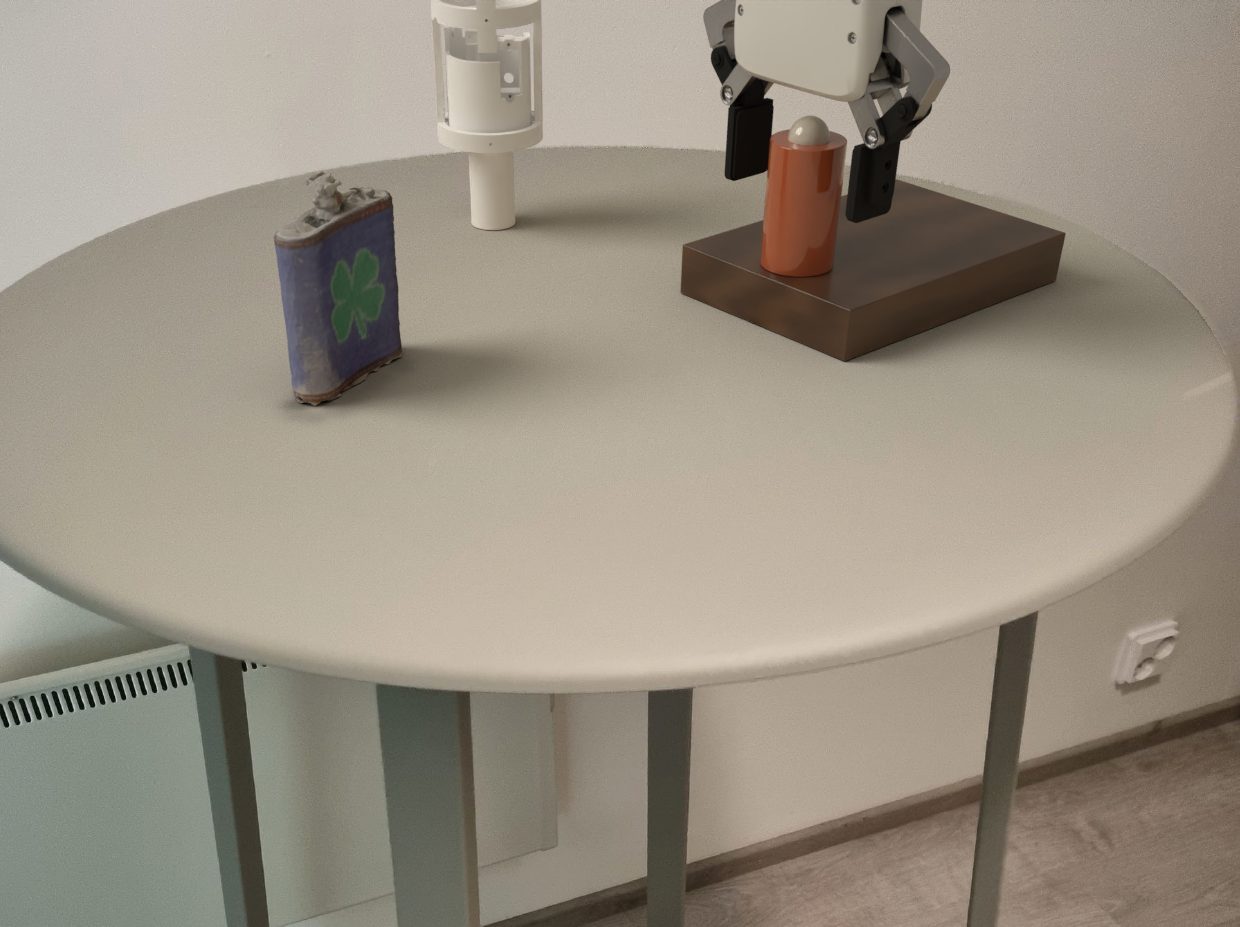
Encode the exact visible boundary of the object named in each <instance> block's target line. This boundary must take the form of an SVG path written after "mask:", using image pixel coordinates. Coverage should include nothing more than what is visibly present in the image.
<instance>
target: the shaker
mask: <svg viewBox="0 0 1240 927" xmlns="http://www.w3.org/2000/svg"><path fill="white" fill-rule="evenodd" d="M847 149H848V139H847V137H846V136H844V135H842V134H840V133H838V132H835V131H832V130H830V129H829V126H828V125H827V123H826V122H825V121H824V120H823V119H822V118H821V117H819V116H817V115H804V116H801V117H799V118H798V119H797V120H795V121H794V123H793V124H792V125H791V127H790V129H784V130H780V131H777V132H775V133H772V136H771V138H770V145H769V157H768V170H767V171H766V182H765V183H766V184H765V196H764V208H763V219H762V220H763V232H762V245H761V257H760V263H761V266H762V267H763V268H764V269H766V270H768V271H770V272H772V273H775V274H779V275H783V276H791V277H810V276H817V275H821V274H824V273H827V272H829V271H830V270H831V269H832V268H833V266H834V257H835V249H836V240H837V231H838V222H839V213H840V204H841V196H843V184H844V176H845V167H846V158H847Z"/></svg>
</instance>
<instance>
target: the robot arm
mask: <svg viewBox="0 0 1240 927" xmlns="http://www.w3.org/2000/svg"><path fill="white" fill-rule="evenodd" d="M922 8H923V0H719V1H717V2H715V3H714V4H711V5H710V6H708V7H706V8H705V10H704V12H703V15H702V16H703V17H702V19H703V24H704V27H705V32H706V36H707V40H708V43H709V47H710V48H712V51H711V53H710V62H711V65H712V68H713V69H714V72H715V74H716V76H717V78H718V80H719V82H720V84H721V87H720V91H719V92H720V93H719V96H720V100H721V102H722V103H723V104H724V105H726V106H729V107H727V108H728V109H727V126H726V143H725V156H724V157H725V160H724V178H725V179H726V180H729V181H732V182H736V181H739V180H744V179H746V178H750V177H754V176H757V175H762V174H764V173H765V172H767V170H768V157H769V145H770V138H771V136H772V135H773V122H774V107H775V106H774V99H773V98H769V97H765V96H766V95H767V93H768V92H769V90H770V89H771V88H772V87H773V85H774V84H776V85H780V86H783V87H786V88H790V89H793V90H797V91H799V92H803V93H806V94H807V93H808V94H811V95H814V96H818V97H821V98H824V99H829V100H833V101H837V102H842V103H847V104H848V106H849V109H850V111H851V114H852V116H853V118H854V119H853V120H854V122H855V124H856V126H857V128H858V131H859V133H860V137H861V139H862V141H863V143H860V144H856V145H854V146H853V149H852V152H851V161H850V168H849V169H850V170H849V177H848V187H847V194H848V195H847V194H846V195H847V204H846V212H845V215H846V217H847V220H848V221H851V222H854V223H859V222H862V221H865V220H868V219H871V218H874V217H878V216H881V215H884V214H886V213H888V212H889V210H890V208H891V204H892V197H893V194H894V188H895V180H896V179H897V172H898V165H899V156H900V148H901V142H902V141H907V140H908V139H910V138H911V136H912V134H913V131H914V130H915V129H916V128H917V127H918V126H919V125H920V124H921V123H922V122H923V121H924V120H925V119H927V118H928V116H929V115H930V114H931V112H932V110H933V103H934V102H936V100H937V98H938V96H939V95H940V93H941V91H942V89H943V88H944V86H945V84H946V82H947V81H948V79H949V77H950V75H951V67H950V64H949V62H948V61H947V59H946V58H945V57H944V56H943V55H942V54H941V52H940V51H938V49H937V48H935V46H934V45H933V44H932V43H931V42H930V40H928V38H927V37H926V36H925V35H924V34H923V33H922V32H921V22H922ZM903 88H906V89H905V91H906V92H905V93H904V95H902V93H901V89H903ZM875 100H876V101H877V104H878V106H879V109H880V111H881V113H882V115H880V113H879V111H878V108H877V106H876V102H875Z"/></svg>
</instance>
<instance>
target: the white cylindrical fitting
mask: <svg viewBox="0 0 1240 927" xmlns="http://www.w3.org/2000/svg"><path fill="white" fill-rule="evenodd" d="M429 3H430V20H431V37H432V56H433V72H434V74H433V76H434V90H435V92H434V93H435V108H436V109H435V110H436V125H437V129H436V130H437V140H438V142H439V143H440V144H441V145H443V146H444V147H447V148H449V149H452V150H456V151H459V152H466V153H468V172H469V175H468V176H469V193H470V214H471V215H470V220H471V226H473V227H474V228H476V229H479V230H484V231H485V230H486V231H500V230H506V229H509V228H512V227H514V226H515V225H516V202H515V198H516V197H515V163H514V162H515V161H514V160H515V158H514V157H515V156H514V152H518V151H522V150H527V149H530V148H532V147H535V146H537V145H538V144H540V143H541V142H542V141H543V140H544V139H543V138H544V123H543V122H544V117H543V116H544V113H543V46H542V45H543V38H542V37H543V34H542V31H543V30H542V0H429ZM475 6H476V7H475ZM496 6H499V7H496ZM531 24H532V48H533V50H532V54H533V58H532V59H533V110H532V88H531V87H532V83H531V82H532V80H531V33H530V32H529V31H523V36H515V35H513V34H500V33H497V30H505V29H512V28H519V27H523V26H529V25H531ZM441 25H442V26H444V27H443V28H444V30H443V31H444V32H443V33H444V34H443V35H444V62H445V81H446V99H447V100H446V101H447V111H446V107H445V104H446V103H445V88H444V69H443V67H444V66H443V50H442V48H443V47H442V31H441V30H442V29H441V28H442V27H441ZM463 29H465V30H464V35H463ZM506 74H511V76H512V77H513V80H512V82H507V81H506V80H505V75H506Z"/></svg>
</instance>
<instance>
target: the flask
mask: <svg viewBox="0 0 1240 927" xmlns="http://www.w3.org/2000/svg"><path fill="white" fill-rule="evenodd" d="M320 177H321V178H320ZM318 178H320V179H318ZM315 180H316V181H315ZM310 181H312V182H314V181H315V182H314V185H315V191H314V196H313V197H312V199H311V202H312V203H313V205H314V206H315V207H313V208H311V209H309V210H307V211H305V212H304V213H302V214H300V215H298V216H296V217H295V218H293V219H292V220H291V221H289V222H287V224H285V225H282V227H280V228H279V229H277V230H276V232H275V233H274V236H273V242H274V249H275V256H276V262H277V271H278V278H279V284H280V295H281V304H282V310H283V317H284V324H285V332H286V340H287V353H288V363H289V369H290V376H291V389H292V392H293V396H294V397H295V398H294V399H295V400H296V401H297V403H300V404H302V403H303V404H304V403H308V404H311V405H313V406H317V405H319V404H320V403H321V402H324V401H325V402H326V401H332V400H334V399H337V398H339V397H341V396H342V392H344V391H346V390H348V389H350V388H352V387H353V386H354V387H355V386H356V385H358V384H360V383H363V381H365V380H366V379H367V377H368V375H369V373H371V372H378V370H379V368H380V367H382V366H384V365H390V363H391V362H392V361H393V360H396V359H399V358H401V357H402V356H403V347H402V346H403V345H402V337H401V328H400V326H401V323H400V313H399V312H400V306H399V304H400V303H399V282H398V281H399V280H398V275H397V270H398V269H397V257H396V240H395V234H396V233H395V223H394V222H395V215H394V203H393V196H392V195H391V193H390V192H389V191H387V190H384V189H379V188H376V187H372V186H358V185H353V186H352V187H351V186H350V187H349V188H348V190H346V191H343V192H340V191H338V189H337V188H338V187H340V186H342V182H341V180H337V179H336V178H335V177H334V176H333V175H332V173H328V174H326V173H325V172H324V171H323V170H319V171H316V172H315V173H312V174H310V175H309V176H308V179H307V180H305V181H304V184H305V186H309V184H310Z"/></svg>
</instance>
